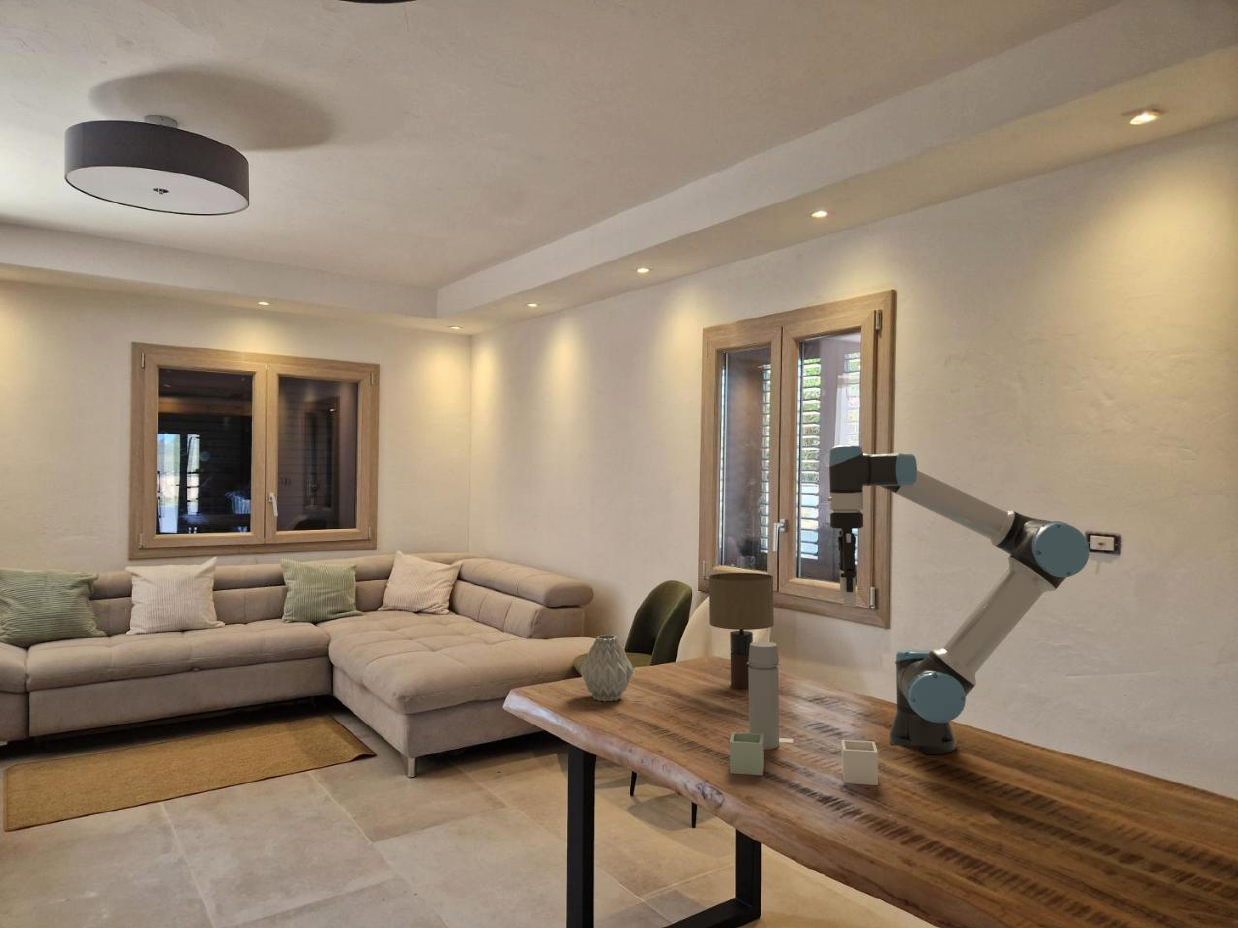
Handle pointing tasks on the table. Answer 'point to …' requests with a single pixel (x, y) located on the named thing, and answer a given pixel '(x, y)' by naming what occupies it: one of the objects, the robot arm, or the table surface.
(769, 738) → the water bottle
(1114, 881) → the table surface
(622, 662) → the vase
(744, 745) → the sage open box
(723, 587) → the lamp
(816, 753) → the table surface
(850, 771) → the cream open box
